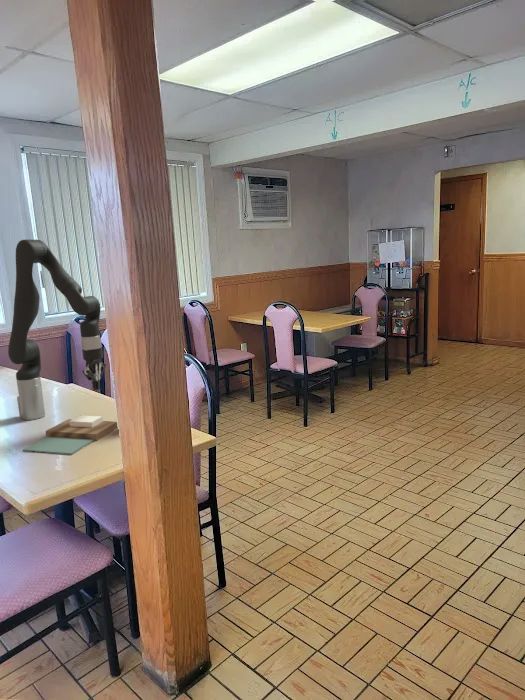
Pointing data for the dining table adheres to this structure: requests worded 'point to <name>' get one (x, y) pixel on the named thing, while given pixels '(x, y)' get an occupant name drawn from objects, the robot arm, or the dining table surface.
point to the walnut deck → (81, 430)
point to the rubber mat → (59, 445)
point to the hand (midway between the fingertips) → (96, 389)
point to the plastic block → (86, 421)
